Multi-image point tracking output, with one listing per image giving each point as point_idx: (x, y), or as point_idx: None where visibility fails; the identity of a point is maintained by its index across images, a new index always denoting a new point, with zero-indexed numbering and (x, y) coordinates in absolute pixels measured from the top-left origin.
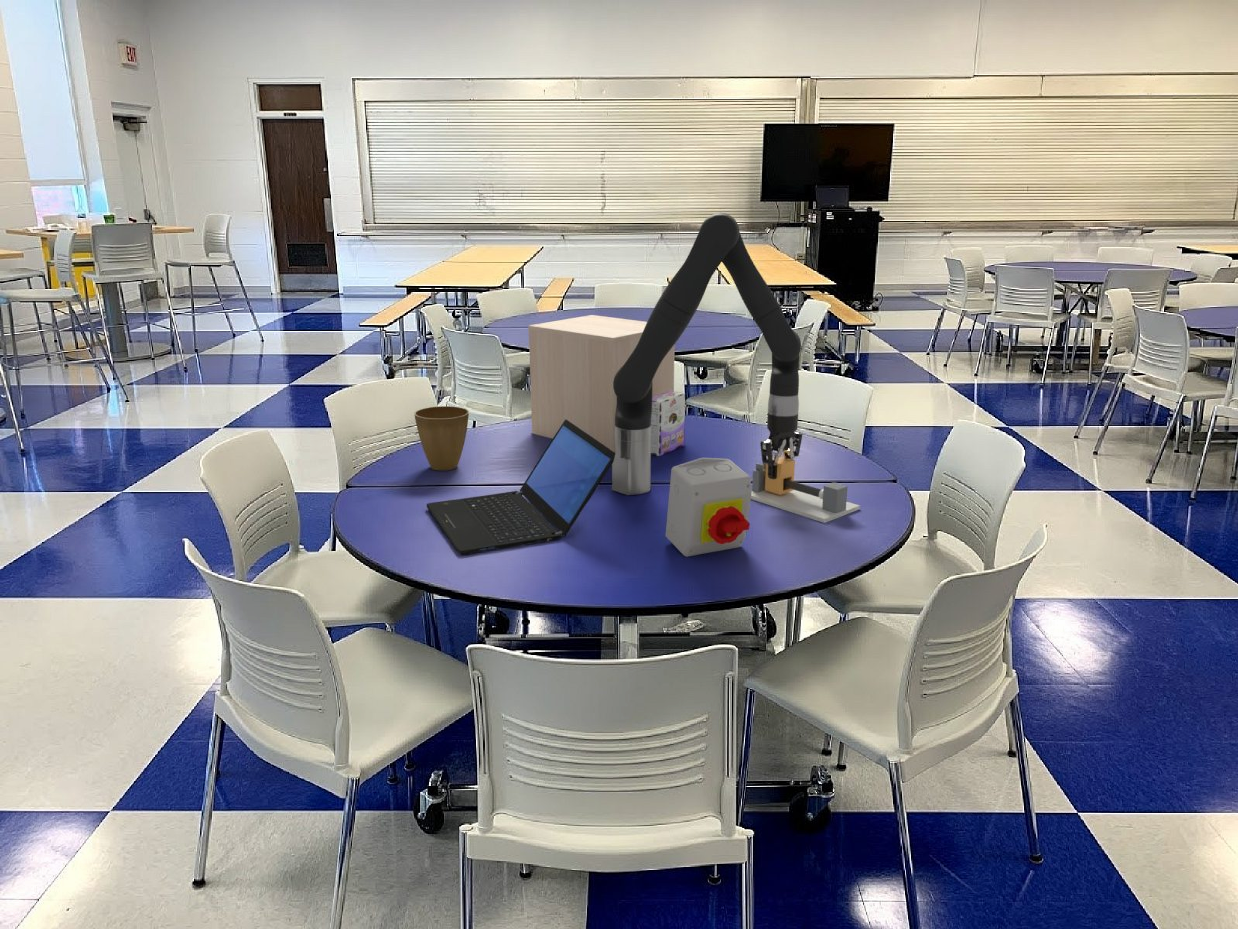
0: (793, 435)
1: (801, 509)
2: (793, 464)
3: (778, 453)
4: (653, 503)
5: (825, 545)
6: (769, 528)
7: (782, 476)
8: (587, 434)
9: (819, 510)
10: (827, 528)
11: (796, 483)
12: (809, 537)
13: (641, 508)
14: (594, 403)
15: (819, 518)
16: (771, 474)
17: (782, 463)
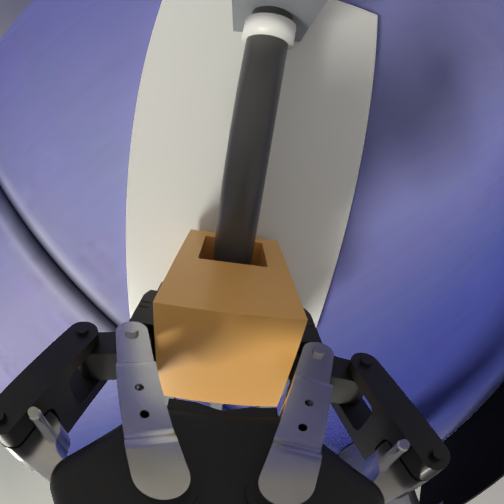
0: (78, 482)
1: (353, 103)
2: (173, 289)
3: (330, 398)
4: (419, 400)
5: (469, 13)
6: (478, 149)
7: (280, 275)
8: (486, 488)
9: (319, 45)
10: (398, 9)
11: (251, 192)
12: (465, 45)
13: (442, 392)
14: None
15: (375, 32)
16: (312, 321)
17: (280, 328)
